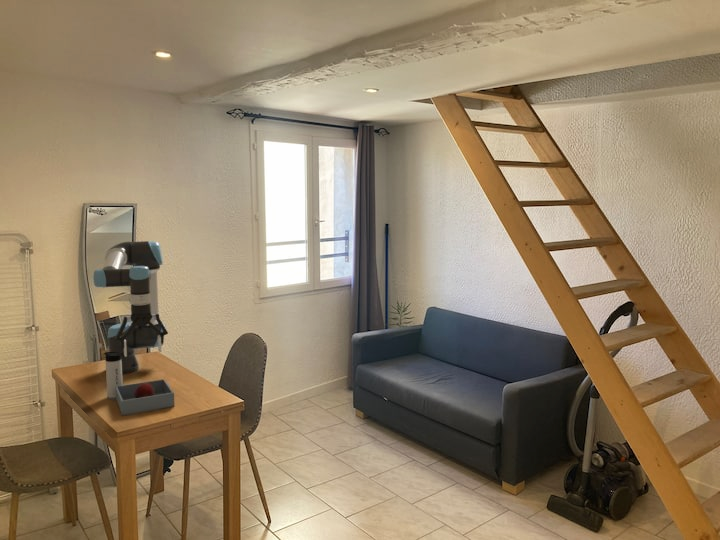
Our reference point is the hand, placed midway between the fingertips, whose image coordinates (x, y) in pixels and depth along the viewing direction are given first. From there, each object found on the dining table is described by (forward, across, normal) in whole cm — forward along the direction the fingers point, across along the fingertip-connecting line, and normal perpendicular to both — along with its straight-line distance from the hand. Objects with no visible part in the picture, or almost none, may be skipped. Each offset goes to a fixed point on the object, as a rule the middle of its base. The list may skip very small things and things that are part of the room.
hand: (142, 353), depth 231 cm
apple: (+21, 0, -2) cm, 21 cm away
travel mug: (+22, -10, +12) cm, 27 cm away
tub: (+21, 0, -2) cm, 21 cm away
